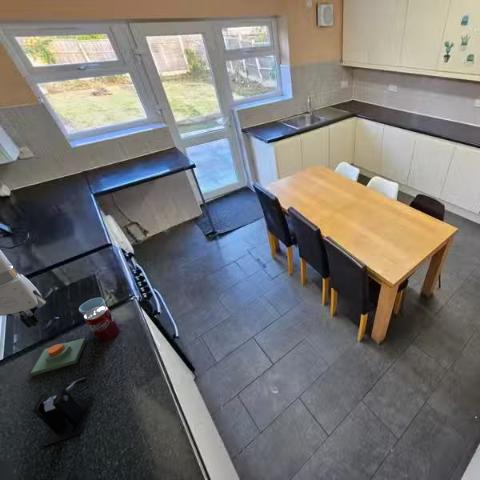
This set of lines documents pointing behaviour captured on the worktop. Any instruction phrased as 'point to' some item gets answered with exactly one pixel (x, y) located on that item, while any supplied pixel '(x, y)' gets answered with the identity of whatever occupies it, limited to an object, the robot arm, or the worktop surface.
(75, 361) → the button block
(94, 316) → the soda can
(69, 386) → the toaster lever
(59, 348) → the button
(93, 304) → the cup
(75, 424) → the toaster bracket
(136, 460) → the worktop surface
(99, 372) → the worktop surface
